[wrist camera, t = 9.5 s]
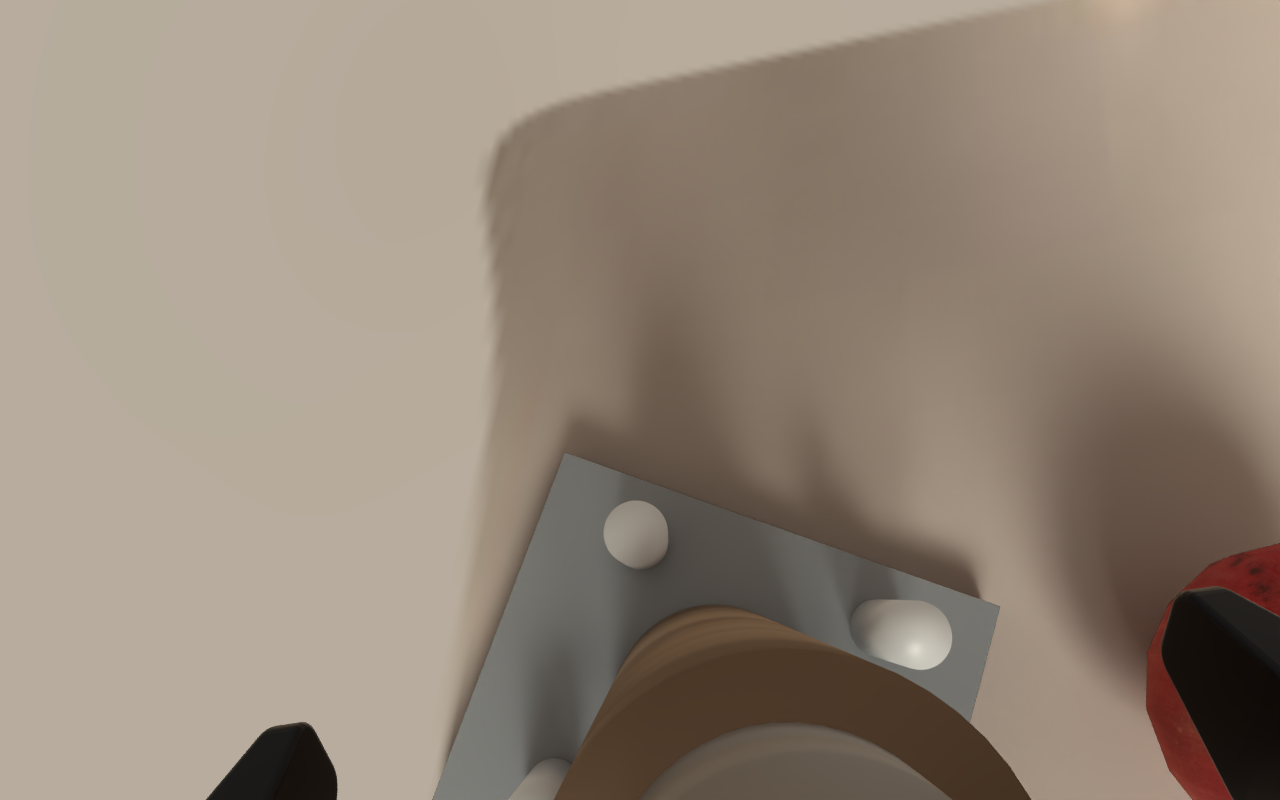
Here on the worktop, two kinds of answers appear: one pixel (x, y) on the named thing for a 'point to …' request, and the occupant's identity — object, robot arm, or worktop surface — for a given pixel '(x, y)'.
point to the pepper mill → (773, 723)
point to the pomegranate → (1258, 576)
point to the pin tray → (662, 585)
